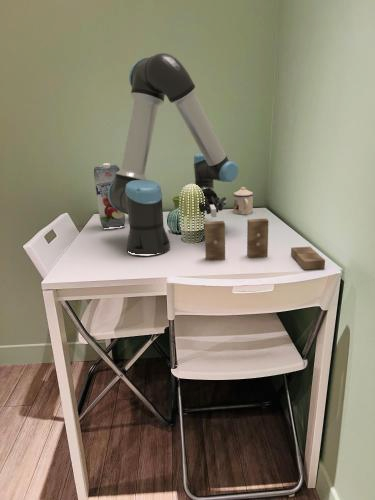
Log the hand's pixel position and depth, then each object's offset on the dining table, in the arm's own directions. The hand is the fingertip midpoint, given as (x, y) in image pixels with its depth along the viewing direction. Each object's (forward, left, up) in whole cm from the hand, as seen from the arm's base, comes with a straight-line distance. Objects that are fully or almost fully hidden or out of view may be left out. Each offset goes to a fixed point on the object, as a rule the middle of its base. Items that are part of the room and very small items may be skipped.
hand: (214, 213), depth 121 cm
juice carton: (-25, +47, -13) cm, 55 cm away
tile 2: (+9, -12, -13) cm, 20 cm away
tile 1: (-3, -7, -13) cm, 15 cm away
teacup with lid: (+34, +38, -13) cm, 53 cm away
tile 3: (+22, -18, -11) cm, 30 cm away
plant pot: (+8, +49, -13) cm, 52 cm away
